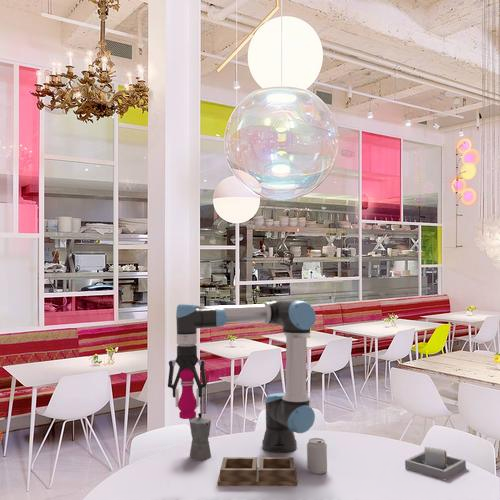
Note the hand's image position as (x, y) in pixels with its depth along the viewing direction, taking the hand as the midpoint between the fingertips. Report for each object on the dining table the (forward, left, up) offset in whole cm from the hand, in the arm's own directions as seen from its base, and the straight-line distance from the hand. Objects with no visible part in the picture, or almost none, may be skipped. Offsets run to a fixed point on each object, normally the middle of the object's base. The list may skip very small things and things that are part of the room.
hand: (187, 405), depth 198 cm
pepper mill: (0, 0, -4) cm, 4 cm away
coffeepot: (-17, -16, -27) cm, 36 cm away
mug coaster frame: (-74, +60, -27) cm, 99 cm away
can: (-39, +30, -27) cm, 56 cm away
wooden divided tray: (-18, +19, -27) cm, 38 cm away
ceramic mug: (-76, +58, -27) cm, 100 cm away
